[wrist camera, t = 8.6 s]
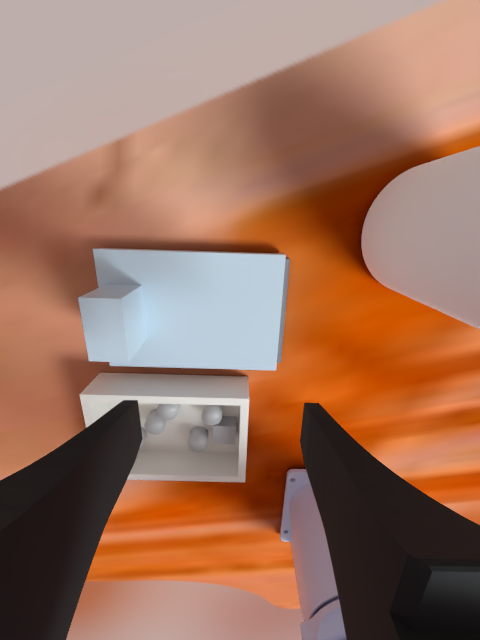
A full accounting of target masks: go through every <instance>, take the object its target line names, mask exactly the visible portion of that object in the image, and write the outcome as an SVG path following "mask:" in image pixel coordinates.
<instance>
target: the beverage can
mask: <svg viewBox="0 0 480 640" xmlns="http://www.w3.org/2000/svg"><path fill="white" fill-rule="evenodd" d="M361 247H362V254H363V258H364V261H365V264H366V266H367V268H368V270H369V271H370V273H371V274H372V276H373V277H374V278H375V279H376V280H377V281H378V282H380V283H381V284H382V285H384V286H385V287H387V288H389V289H391V290H394V291H396V292H398V293H400V294H402V295H405V296H407V297H409V298H411V299H414V300H416V301H418V302H420V303H422V304H425V305H427V306H429V307H431V308H434V309H436V310H438V311H440V312H442V313H445V314H447V315H449V316H451V317H453V318H456V319H458V320H460V321H462V322H465V323H467V324H469V325H471V326H473V327H476V328H478V329H480V146H479V147H475V148H472V149H469V150H466V151H463V152H460V153H456V154H453V155H450V156H447V157H444V158H440V159H437V160H434V161H431V162H428V163H425V164H422V165H419V166H416V167H413V168H411V169H409V170H407V171H405V172H403V173H402V174H400V175H399V176H397V177H396V178H394V179H393V180H392V181H391V182H390V183H389V184H388V185H387V186H385V188H384V189H383V190H382V191H381V192H380V193H379V195H378V196H377V197H376V199H375V200H374V202H373V203H372V205H371V207H370V209H369V211H368V213H367V216H366V218H365V221H364V225H363V229H362V237H361Z"/></svg>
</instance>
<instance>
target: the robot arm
mask: <svg viewBox="0 0 480 640" xmlns="http://www.w3.org/2000/svg"><path fill="white" fill-rule="evenodd" d="M142 439H143V438H142V430H141V422H140V414H139V406H138V400H123V401H122V402H120V403H119V404H117V405H116V406H115V407H113V408H112V409H111V410H109V411H108V412H107V413H105V414H104V415H103V416H102V417H100V418H99V419H98V420H96V421H95V422H94V423H92V424H91V425H90V426H88V427H87V428H86V429H84V430H83V431H81V432H80V433H79V434H77V435H76V436H74V437H73V438H71V439H70V440H68V441H67V442H66V443H64V444H63V445H61V446H60V447H58V448H57V449H55V450H54V451H52V452H50V453H49V454H47V455H46V456H44V457H42V458H41V459H39V460H37V461H36V462H34V463H32V464H30V465H29V466H27V467H25V468H23V469H22V470H20V471H18V472H16V473H14V474H12V475H10V476H8V477H6V478H4V479H3V480H1V481H0V640H66V638H67V634H68V631H69V628H70V625H71V622H72V619H73V616H74V613H75V610H76V607H77V604H78V600H79V597H80V594H81V591H82V588H83V585H84V583H85V580H86V577H87V574H88V571H89V568H90V566H91V563H92V560H93V557H94V554H95V552H96V549H97V546H98V544H99V541H100V538H101V535H102V533H103V530H104V528H105V525H106V523H107V521H108V518H109V516H110V514H111V512H112V510H113V508H114V505H115V503H116V501H117V499H118V497H119V495H120V493H121V491H122V489H123V486H124V484H125V482H126V480H127V478H128V476H129V474H130V471H131V469H132V467H133V465H134V463H135V460H136V457H137V454H138V451H139V448H140V445H141V442H142ZM300 443H301V448H302V454H303V459H304V464H305V468H306V469H290V470H288V472H287V478H286V486H285V495H284V504H283V512H282V521H281V530H280V539H281V540H282V541H285V542H291V549H292V555H293V561H294V568H295V574H296V581H297V587H298V593H299V600H300V606H301V612H302V616H303V619H304V622H302V623H301V624H300V626H301V634H302V640H480V525H478V524H476V523H474V522H472V521H470V520H468V519H467V518H465V517H463V516H461V515H459V514H458V513H456V512H454V511H452V510H451V509H449V508H447V507H446V506H444V505H442V504H440V503H439V502H437V501H436V500H434V499H432V498H431V497H429V496H427V495H426V494H424V493H423V492H421V491H420V490H418V489H417V488H415V487H414V486H412V485H411V484H409V483H408V482H406V481H405V480H403V479H402V478H401V477H399V476H398V475H396V474H395V473H394V472H392V471H391V470H390V469H389V468H387V467H386V466H385V465H383V464H382V463H381V462H379V461H378V460H377V459H376V458H375V457H373V456H372V455H371V454H370V453H369V452H368V451H366V450H365V449H364V448H363V447H362V446H361V445H360V444H358V443H357V442H356V441H355V440H354V439H353V438H352V437H351V436H350V435H349V434H348V433H347V432H346V431H345V430H344V429H343V428H342V427H341V426H340V425H339V424H338V423H337V422H336V421H335V420H334V419H333V418H332V417H331V416H330V415H329V414H328V413H327V412H326V410H325V409H324V408H323V407H322V406H321V405H320V404H319V403H304V411H303V420H302V429H301V438H300ZM291 478H293V479H291Z"/></svg>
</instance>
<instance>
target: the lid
mask: <svg viewBox="0 0 480 640" xmlns="http://www.w3.org/2000/svg"><path fill="white" fill-rule="evenodd" d="M93 255H94V262H95V269H96V275H97V282H98V288H97V289H95V290H93V291H91V292H89V293H87V294H84V295H82V296H80V297H78V301H79V307H80V312H81V318H82V324H83V330H84V335H85V341H86V347H87V352H88V358H89V361H99V362H109V364H110V366H131V367H168V368H205V369H241V370H276V366H277V354H278V342H279V331H280V319H281V307H282V295H283V283H284V272H285V260H286V255H285V254H279V253H247V252H215V251H182V250H150V249H118V248H95V249H93Z"/></svg>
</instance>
